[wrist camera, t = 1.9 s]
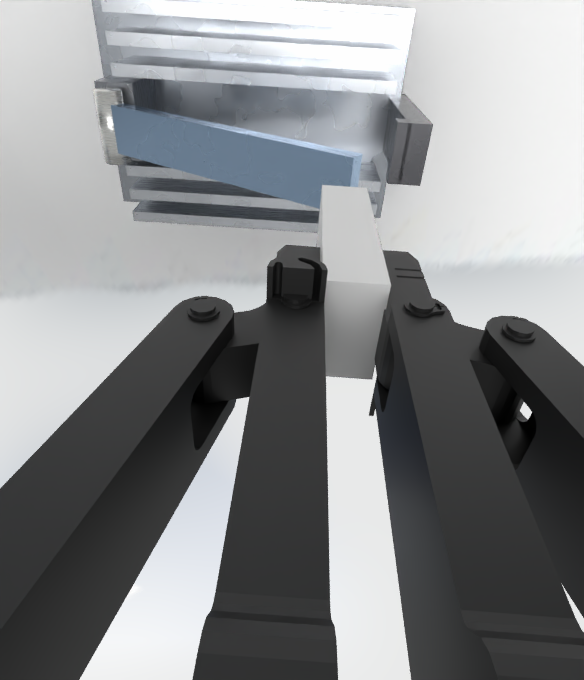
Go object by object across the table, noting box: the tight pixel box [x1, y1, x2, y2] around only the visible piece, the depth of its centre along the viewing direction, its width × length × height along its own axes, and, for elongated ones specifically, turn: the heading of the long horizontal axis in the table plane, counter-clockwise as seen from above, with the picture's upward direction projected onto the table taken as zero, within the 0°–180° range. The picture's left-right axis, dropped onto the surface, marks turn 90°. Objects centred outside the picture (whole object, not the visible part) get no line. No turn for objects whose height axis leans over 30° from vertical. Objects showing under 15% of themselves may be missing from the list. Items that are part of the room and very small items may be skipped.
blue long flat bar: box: [93, 87, 362, 209], centre depth 23 cm, size 15×4×1 cm, turn 86°
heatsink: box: [92, 0, 433, 233], centre depth 28 cm, size 19×12×9 cm, turn 87°
